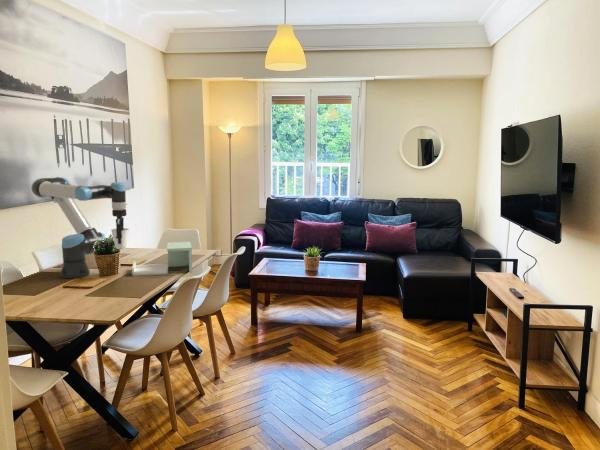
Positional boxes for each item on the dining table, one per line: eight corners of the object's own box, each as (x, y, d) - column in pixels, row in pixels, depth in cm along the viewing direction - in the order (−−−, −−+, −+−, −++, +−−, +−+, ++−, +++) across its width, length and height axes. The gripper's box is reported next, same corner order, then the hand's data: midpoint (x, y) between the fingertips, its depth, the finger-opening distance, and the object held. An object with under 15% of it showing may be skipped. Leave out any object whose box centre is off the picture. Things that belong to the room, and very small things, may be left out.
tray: (132, 275, 257) (131, 267, 256) (134, 269, 272) (134, 261, 272) (168, 273, 263) (167, 265, 262) (168, 267, 278) (168, 259, 277)
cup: (133, 246, 264) (132, 228, 263) (125, 250, 255) (124, 231, 253) (117, 245, 265) (116, 227, 263) (108, 249, 255) (107, 230, 254)
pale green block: (168, 274, 262) (167, 248, 260) (168, 266, 280) (167, 242, 278) (192, 273, 266) (191, 247, 264) (190, 265, 284) (190, 241, 282)
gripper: (124, 211, 247) (126, 251, 251) (127, 206, 267) (129, 243, 271) (109, 211, 245) (111, 251, 249) (114, 207, 265) (116, 244, 269)
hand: (121, 247), depth 260 cm, fingers closed on cup, 8 cm apart
